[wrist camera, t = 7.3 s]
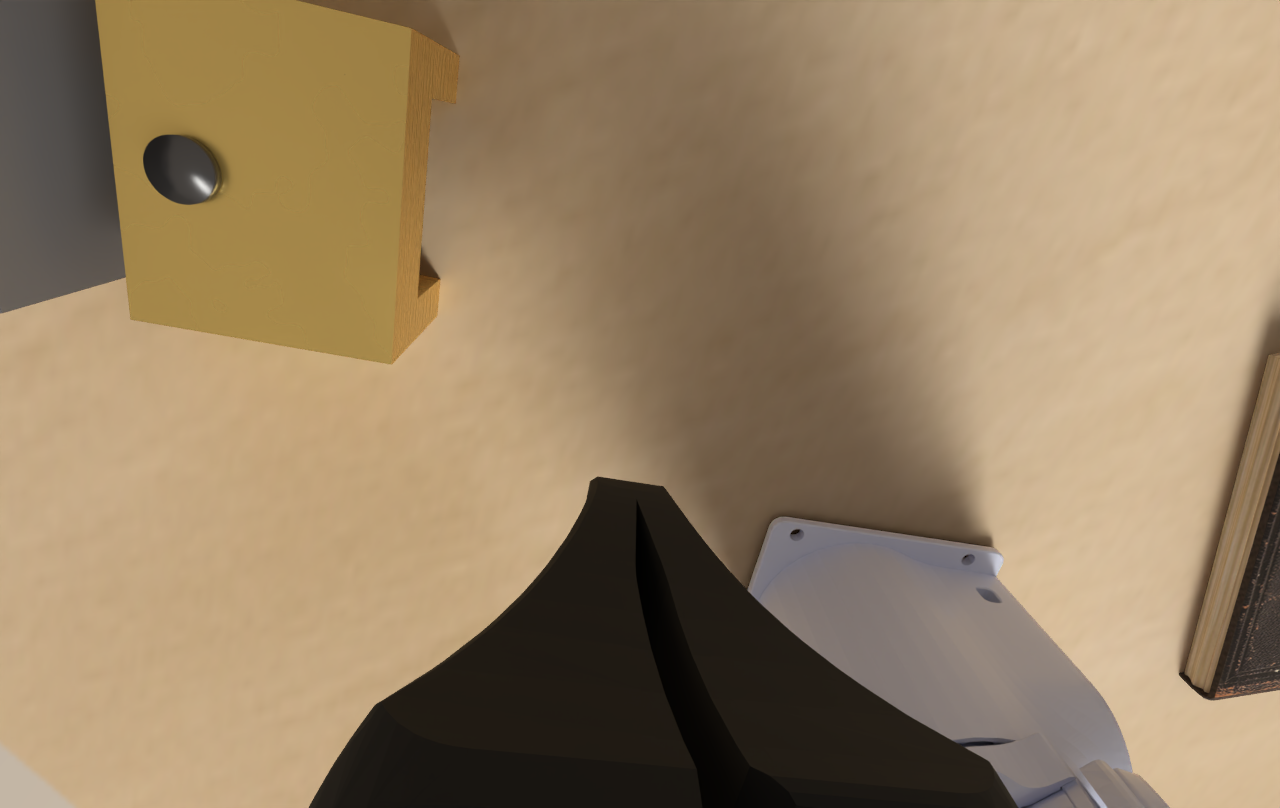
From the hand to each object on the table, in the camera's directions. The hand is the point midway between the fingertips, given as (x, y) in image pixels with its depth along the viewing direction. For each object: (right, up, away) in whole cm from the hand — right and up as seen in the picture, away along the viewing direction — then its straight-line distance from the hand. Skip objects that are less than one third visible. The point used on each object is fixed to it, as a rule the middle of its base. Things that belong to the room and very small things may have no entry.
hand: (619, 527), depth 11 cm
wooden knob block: (-8, +9, +7) cm, 14 cm away
